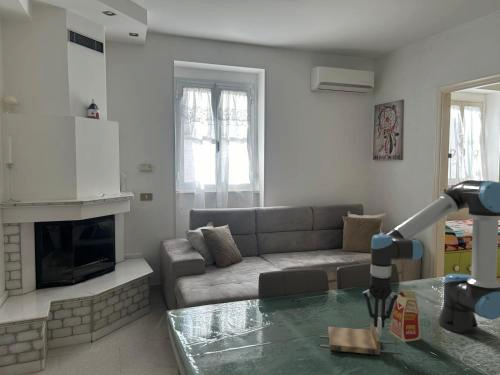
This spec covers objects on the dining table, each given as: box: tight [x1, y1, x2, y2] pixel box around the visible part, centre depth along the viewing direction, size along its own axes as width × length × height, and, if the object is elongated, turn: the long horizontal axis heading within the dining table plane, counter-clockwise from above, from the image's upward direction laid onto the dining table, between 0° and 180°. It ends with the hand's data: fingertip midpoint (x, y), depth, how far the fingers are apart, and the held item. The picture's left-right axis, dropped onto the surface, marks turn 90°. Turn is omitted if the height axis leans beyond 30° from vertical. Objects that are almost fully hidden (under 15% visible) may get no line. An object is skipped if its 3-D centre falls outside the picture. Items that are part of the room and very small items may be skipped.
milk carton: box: [389, 288, 421, 343], centre depth 152 cm, size 9×9×20 cm
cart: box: [327, 322, 381, 356], centre depth 145 cm, size 18×18×5 cm
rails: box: [319, 335, 403, 355], centre depth 144 cm, size 30×9×1 cm, turn 80°
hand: (378, 335), depth 143 cm, fingers closed
